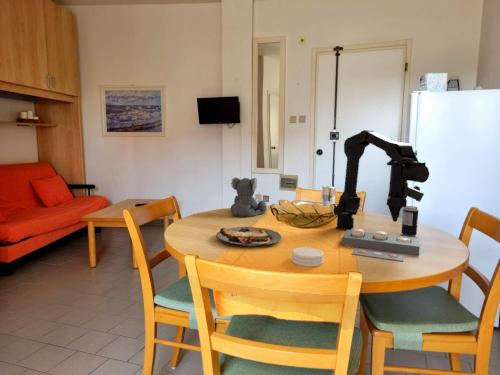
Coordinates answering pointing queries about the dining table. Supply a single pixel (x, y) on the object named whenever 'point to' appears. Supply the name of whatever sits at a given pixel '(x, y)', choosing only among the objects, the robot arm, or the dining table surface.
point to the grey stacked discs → (307, 257)
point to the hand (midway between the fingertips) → (394, 221)
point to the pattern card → (378, 254)
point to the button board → (382, 243)
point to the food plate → (248, 236)
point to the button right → (403, 240)
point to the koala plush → (246, 198)
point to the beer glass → (328, 195)
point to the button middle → (380, 235)
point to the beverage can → (409, 221)
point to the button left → (358, 232)
